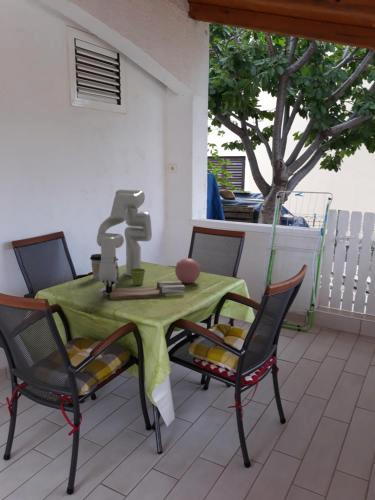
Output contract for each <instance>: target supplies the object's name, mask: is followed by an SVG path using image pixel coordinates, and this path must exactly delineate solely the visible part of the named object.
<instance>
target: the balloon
mask: <svg viewBox="0 0 375 500" xmlns="http://www.w3.org/2000/svg"><path fill="white" fill-rule="evenodd" d="M174 269H175V270H174V273H175V276H176V279H177V280H178V281H181V282H182V284H192V283H194V282H196V281H197V280H198V278H199V277H200V274H201V267H200V265H199V263H198V262H197V260H196V259H193V258H189V257H188V258H186V257H185V258H183V259H181V260H179V261H177V263H176V265H175V268H174Z"/></svg>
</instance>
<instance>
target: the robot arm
mask: <svg viewBox="0 0 375 500" xmlns="http://www.w3.org/2000/svg"><path fill="white" fill-rule="evenodd" d="M145 197H146V196H145V192H144V191H143V190H138V189H136V190H135V189H134V190H133V189H117V190H116V191H115V196H114V197H113V203H112V206H111V211H110V216H108V217H107V218H106V219H104V221H102V222H101V224H100V225H99V227H98V231H97V236H96V243H97V245H98V246H99V247H100V254H101V262H100V267H99V279H100V280H98V281H99V282H101V283H103V284H104V287H106V293H111V292H112V285H113V284H118V283H119V280H120V269H119V268H120V267H119V263H118V261H119V258H118V257H117V256H116V254H117V251H116V249H118V248H121V247H122V246H123V245H124V242H125V258H126V259H125V263H126V265H125V270H124V271H123V274H124V275H125V276H129V277H130V276H131V277H132V275H131V272H130V270H131V269H134V268H142V267H141V266H142V265H141V264H142V262H141V261H142V259H141V258H142V249H141V247H142V246H141V245H140V243H139V242H150V241H151V240H152V235H153V233H152V232H153V231H152V222H151V220H152V219H151V215H150V213H149V212H147V211H139V208H141V207H142V206H143V204H144V203H145V200H146V199H145ZM124 222H125V224H126V225H127V226H126V227H125V229H124V236H123V235H122V234H120V233H111V232H110V233H109V232H107V230H109V229H110V228H112V227H114V226H117V225H119V224H122V223H124Z"/></svg>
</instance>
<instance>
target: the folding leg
mask: <svg viewBox="0 0 375 500" xmlns="http://www.w3.org/2000/svg"><path fill="white" fill-rule="evenodd" d="M116 284H117V283H115V284H113V285H112V291H114V290H116V288H117V285H116ZM107 295H109V293H106V286H104V287H102V288H100V289H98V290H97V296H98V297H102V298H103V297H105V296H107Z"/></svg>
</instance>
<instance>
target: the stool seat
mask: <svg viewBox="0 0 375 500" xmlns="http://www.w3.org/2000/svg"><path fill="white" fill-rule="evenodd" d="M185 292H186V286H185V285H184V284H183V282H181V281H180V280H170V281H169V280H168V281H167V280H166V281H158V282H156V285H152V286H149V285H148V286H132V287H131V286H129V287H116V290H114V291H112V292H111V293H109V294H108V295H109V300H110V301H119V300H120V301H121V300H130V299H131V300H134V299H136V300H137V299H150V298H151V299H152V298H153V299H155V298H165V297H166V293H185Z"/></svg>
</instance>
